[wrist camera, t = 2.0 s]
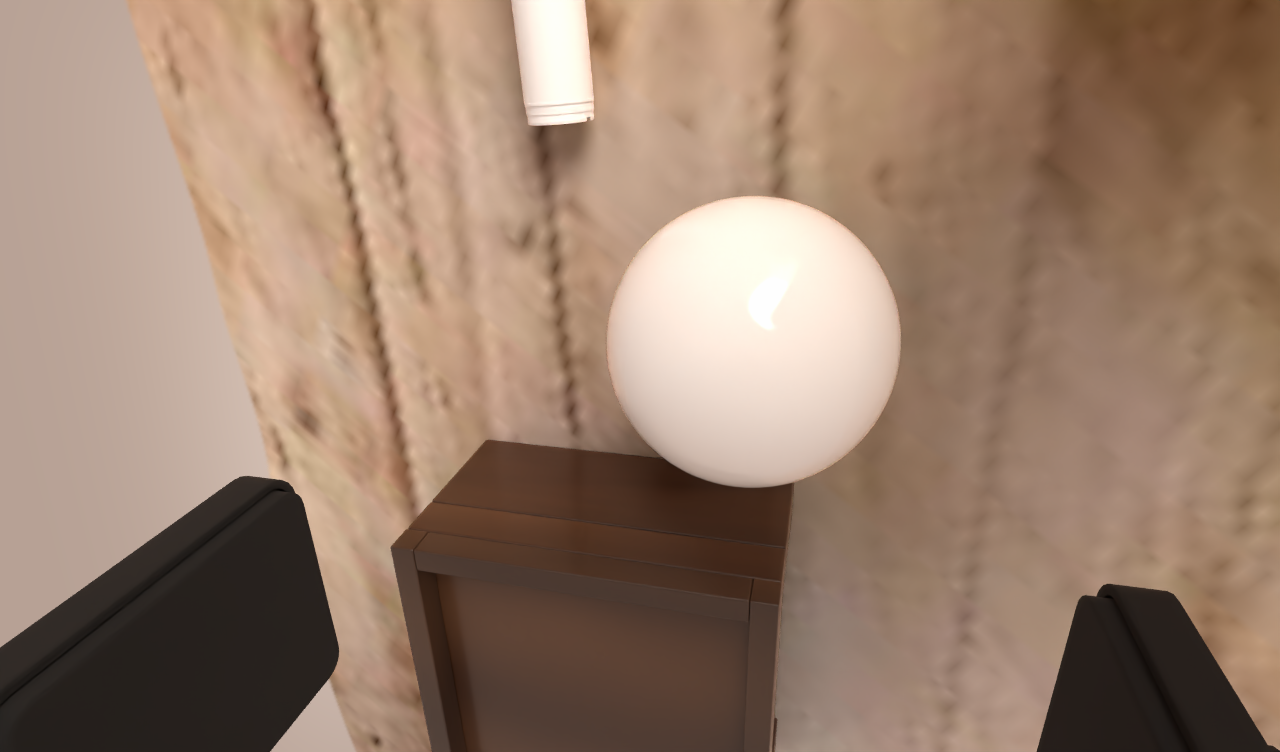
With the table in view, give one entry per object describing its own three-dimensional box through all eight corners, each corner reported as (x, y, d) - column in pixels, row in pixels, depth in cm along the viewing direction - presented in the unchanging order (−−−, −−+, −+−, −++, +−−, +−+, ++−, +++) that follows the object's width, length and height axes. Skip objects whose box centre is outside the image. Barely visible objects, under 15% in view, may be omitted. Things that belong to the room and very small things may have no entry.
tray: (486, 438, 29) (389, 546, 23) (795, 472, 26) (779, 605, 20) (519, 697, 35) (449, 838, 29) (775, 747, 32) (758, 916, 26)
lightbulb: (697, 130, 22) (582, 203, 13) (910, 168, 21) (964, 279, 12) (666, 322, 25) (552, 501, 15) (853, 364, 24) (857, 584, 14)
